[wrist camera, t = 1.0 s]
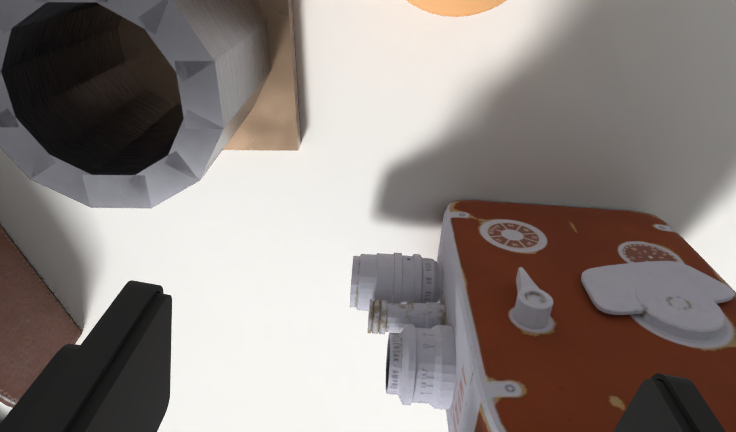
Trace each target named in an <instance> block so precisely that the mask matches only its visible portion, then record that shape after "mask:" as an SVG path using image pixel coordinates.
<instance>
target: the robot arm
mask: <svg viewBox="0 0 736 432" xmlns="http://www.w3.org/2000/svg"><path fill="white" fill-rule="evenodd" d="M171 321H172V297H171V296H170V295H166V294H163V288H162V286H160V285H155V284H149V283H143V282H138V281H132V280H131V281H129V282H128V283H127V284H126V285H125V286H124V288H123V289H122V290H121V292H120V293H119V294H118V296H117V297H116V298H115V300H114V301H113V302H112V304H111V305H110V306H109V308H108V309H107V310H106V312H105V313H104V315H103V316H102V317H101V319H100V320H99V321H98V323H97V324H96V325H95V327H94V328H93V329H92V331H91V332H90V333H89V335H88V336H87V337H86V339H85V340H84V341H83V343H82V344H81V345H75V344H66V345H65V346H63V347H62V348H61V349H60V350H59V351H58V352H57V353H56V354H55V355H54V357H53V358H52V359H51V360H50V362H49V363H48V364H47V365H46V367H45V368H44V369H43V370H42V372H41V373H40V374H39V376H38V377H37V378H36V379H35V381H34V382H33V383H32V384H31V386H30V387H29V388H28V389H27V391H26V392H25V393H24V395H23V396H22V397H21V398H20V400H19V401H18V402H17V403H16V405H15V406H14V407H13V409H12V410H11V411H10V412H9V414H8V415H7V416H6V417H5V419H4V420H3V421H2V422H1V424H0V432H157V430H158V428H159V426H160V424H161V422H162V420H163V417H164V415H165V413H166V410H167V407H168V403H169V398H170V368H171ZM613 432H726V431H725V430H724V428H723V427H722V425H721V424H720V422H719V421H718V419H717V418H716V416H715V415H714V413H713V412H712V410H711V409H710V407H709V406H708V404H707V403H706V401H705V400H704V398H703V397H702V395H701V394H700V392H699V391H698V389H697V388H696V386H695V385H694V384H693V382H692V381H691V380H689V379H687V378H683V377H678V376H672V375H666V374H657V373H656V374H655V375H653V376H652V377H651V378H650V379H646V380H644V381H643V382H642V384H641V385H640V387H639V389H638V390H637V392H636V394H635V395H634V397H633V399H632V400H631V402H630V404H629V405H628V407H627V409H626V410H625V412H624V414H623V415H622V417H621V419H620V420H619V422H618V424H617V426H616V427H615V429H614V431H613Z"/></svg>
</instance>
